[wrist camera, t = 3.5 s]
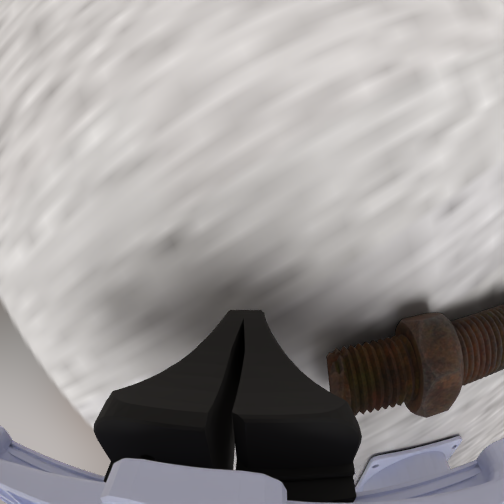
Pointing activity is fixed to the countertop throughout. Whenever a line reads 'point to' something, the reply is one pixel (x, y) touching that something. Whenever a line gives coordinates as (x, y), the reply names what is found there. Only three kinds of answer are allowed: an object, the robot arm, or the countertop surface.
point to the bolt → (419, 362)
